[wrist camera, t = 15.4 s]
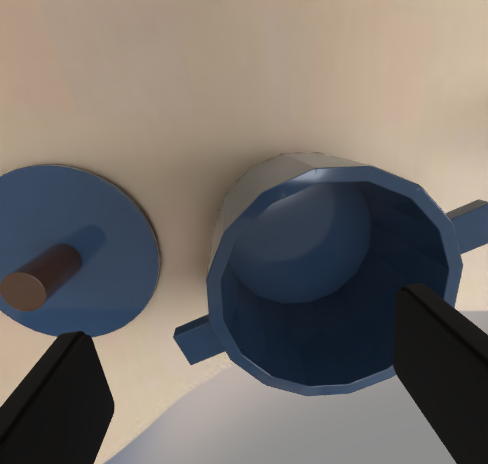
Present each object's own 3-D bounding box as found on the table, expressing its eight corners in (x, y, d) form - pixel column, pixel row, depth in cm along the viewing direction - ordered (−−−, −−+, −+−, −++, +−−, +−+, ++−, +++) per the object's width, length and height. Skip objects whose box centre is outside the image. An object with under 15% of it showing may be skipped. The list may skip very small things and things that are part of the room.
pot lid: (-68, 213, 26) (-165, 240, 19) (98, 129, 24) (52, 129, 18) (48, 354, 30) (0, 413, 24) (192, 291, 29) (182, 336, 23)
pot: (157, 210, 26) (114, 259, 16) (379, 107, 25) (482, 91, 15) (230, 339, 31) (231, 439, 21) (423, 259, 29) (524, 327, 19)
